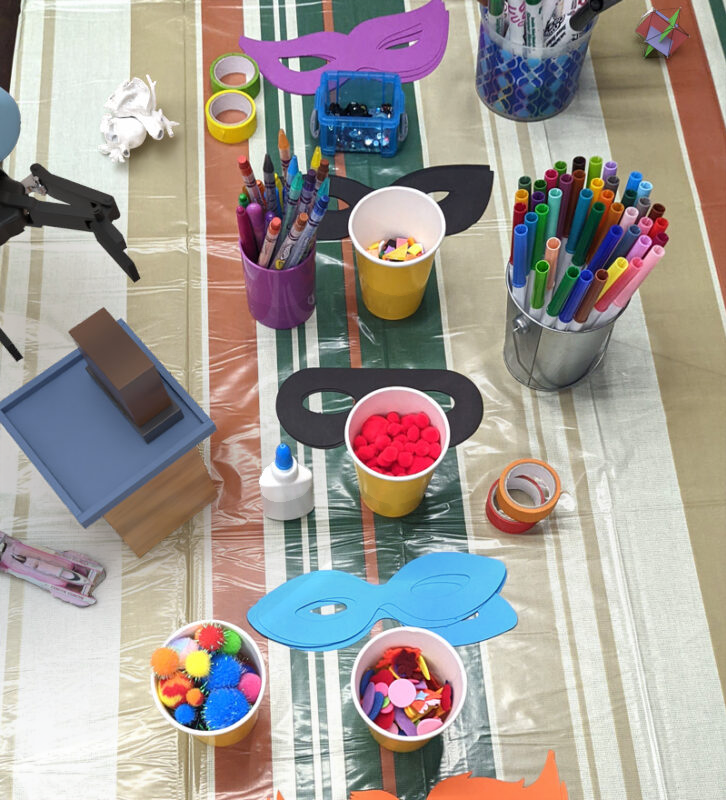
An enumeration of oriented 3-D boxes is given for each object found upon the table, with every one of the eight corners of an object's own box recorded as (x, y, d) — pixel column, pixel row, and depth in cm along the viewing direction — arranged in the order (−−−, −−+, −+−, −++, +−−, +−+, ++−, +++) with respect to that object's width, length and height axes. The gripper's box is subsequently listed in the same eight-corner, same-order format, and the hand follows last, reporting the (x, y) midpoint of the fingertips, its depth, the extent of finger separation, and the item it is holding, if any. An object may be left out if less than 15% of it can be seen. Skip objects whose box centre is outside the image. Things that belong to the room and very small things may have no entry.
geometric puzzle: (699, 32, 132) (682, -14, 127) (689, 65, 130) (671, 19, 124) (653, 45, 137) (635, 1, 131) (642, 77, 134) (623, 34, 129)
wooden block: (81, 487, 108) (22, 417, 89) (160, 428, 111) (120, 349, 92) (138, 558, 105) (90, 501, 86) (219, 496, 108) (189, 428, 89)
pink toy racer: (111, 566, 105) (102, 556, 101) (91, 610, 103) (81, 601, 99) (10, 532, 106) (-3, 521, 102) (-11, 575, 104) (-25, 565, 100)
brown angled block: (90, 377, 90) (58, 325, 81) (126, 351, 92) (100, 297, 82) (147, 444, 88) (122, 400, 78) (184, 417, 89) (164, 369, 80)
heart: (139, 61, 125) (176, 103, 119) (161, 99, 131) (197, 140, 125) (70, 111, 125) (104, 154, 119) (95, 146, 130) (129, 189, 125)
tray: (-5, 415, 90) (-11, 408, 88) (124, 325, 93) (120, 317, 92) (85, 529, 85) (80, 524, 84) (217, 430, 89) (214, 423, 88)
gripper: (72, 138, 97) (188, 263, 91) (-131, 263, 91) (-22, 406, 85) (50, 85, 90) (173, 217, 84) (-173, 217, 84) (-56, 368, 78)
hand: (76, 312), depth 84 cm, fingers open, 13 cm apart
